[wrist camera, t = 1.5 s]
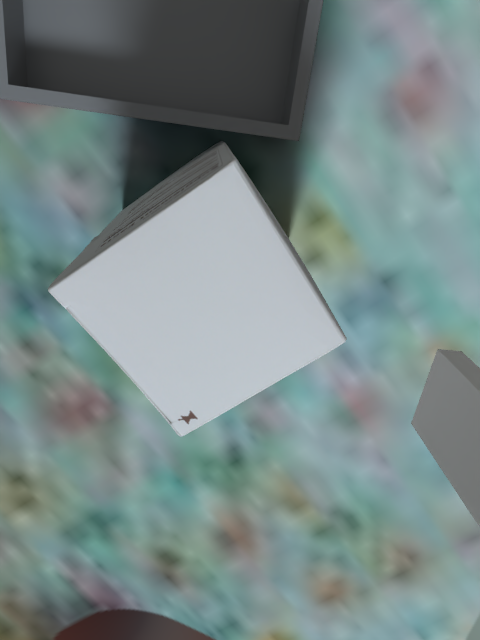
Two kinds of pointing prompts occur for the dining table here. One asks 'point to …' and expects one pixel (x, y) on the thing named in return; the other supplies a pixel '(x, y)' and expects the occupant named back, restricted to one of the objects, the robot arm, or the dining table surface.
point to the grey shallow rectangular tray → (165, 59)
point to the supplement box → (199, 293)
